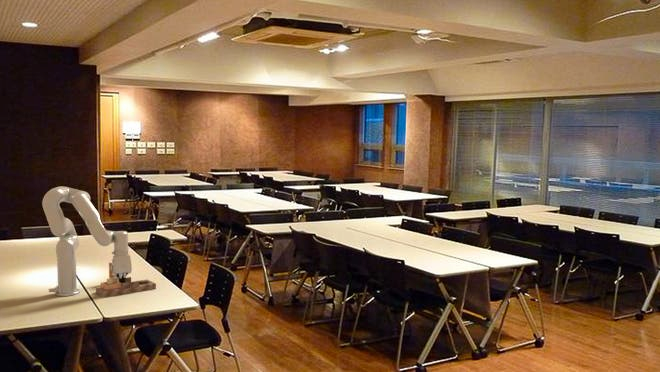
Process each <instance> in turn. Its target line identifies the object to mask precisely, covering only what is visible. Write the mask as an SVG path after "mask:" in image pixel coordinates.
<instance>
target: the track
mask: <svg viewBox="0 0 660 372" xmlns="http://www.w3.org/2000/svg"><path fill="white" fill-rule="evenodd" d="M156 289H157V283H155V282H154V281H152V280H149V279H142V280H135V281H134V280H133V281H132V277H131V276H129V277H128V276H126V278H125V283H122V284H121V288H116V289H110V290H105V289H103V288H102V287H101V286H96V287H95V293H96V294H97V293H98V295H99V296H100V295H101V296H100V297H102V298H108V297H109V296H110V297H115V296H120V295H127V294H133V293H139V292H143V291H144V292H145V291H150V290H156Z"/></svg>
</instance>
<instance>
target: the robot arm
mask: <svg viewBox="0 0 660 372" xmlns="http://www.w3.org/2000/svg"><path fill="white" fill-rule="evenodd" d="M43 196H44V197H43V199H42V202H41V204H42V205H41V206H42V208H43V211H44V214H45V217H46V220H47V222H48V225H49V228H50V232H51V233H52V235H54V236H55V237H58V238H59V240H58V241H57V243H56V246H55V253H56V262H57V264H56V267H57V269H56V270H57V285H56V286H55V287H53V288H48V293H54V295H55V296H57V297H68V296H74V295H78V294H79V293H80V289H78V287H77V260H76V250H77V249H78V248H79V245H80V240H79V237H78V234H77V232H76V229H75V226H74V223H73V221H71V219H69V218H67V217H65V216H64V212H63V210H62V208H61V206H60V203H62V202H65V203H68V204H72V205H73V207H74V208H75V210H76V211H77V212H78V213H79V215H80V217H81V218H82V219H83V221H84V223H85V225H86V227H87V229H88V231H89V233H90V235H92V237H93V238H94V240H95V241H96V242H97V244H98V245H99V246H101V247H108V246H109V245H111V244H113V251H111V254H112V255H113V256H112V260H111V262H112V275H113V276H117V277H118V278H119V282H120V283H121V284H122V283H125V277H126V278H127V277H128V275H130V274H132V270H133V266H132V259H131V255H130V254H129V235H128V233H129V232H128V231H126V230H118V231H117V230H116V231H115V230H107V229H106V228H105V226H104V225H103V223H102V222H101V216H100V213H99V211H98V209H96V208H95V206H94V204H93V203H92V202H91V196H90V194H89V193H88V192H87V191H84V190H79V189H77V188H72V187H69V186H57V187H53V188H51V189H50V190H49V191H47V192H46V193H45V195H43ZM121 273H122V276H121Z"/></svg>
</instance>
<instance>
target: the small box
mask: <svg viewBox="0 0 660 372" xmlns="http://www.w3.org/2000/svg"><path fill="white" fill-rule="evenodd" d="M121 276H122V273H121ZM115 277H116V278H118V277H117V276H113V275H112V261H110V262H108V278H115ZM125 278H127V276H126V277H125ZM118 279H119V278H118Z"/></svg>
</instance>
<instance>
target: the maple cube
mask: <svg viewBox="0 0 660 372" xmlns="http://www.w3.org/2000/svg"><path fill="white" fill-rule="evenodd" d="M106 282H107V285H111V284H118V283H119V279H118V278H116V277H115V278H109V277H108V278H106Z"/></svg>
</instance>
